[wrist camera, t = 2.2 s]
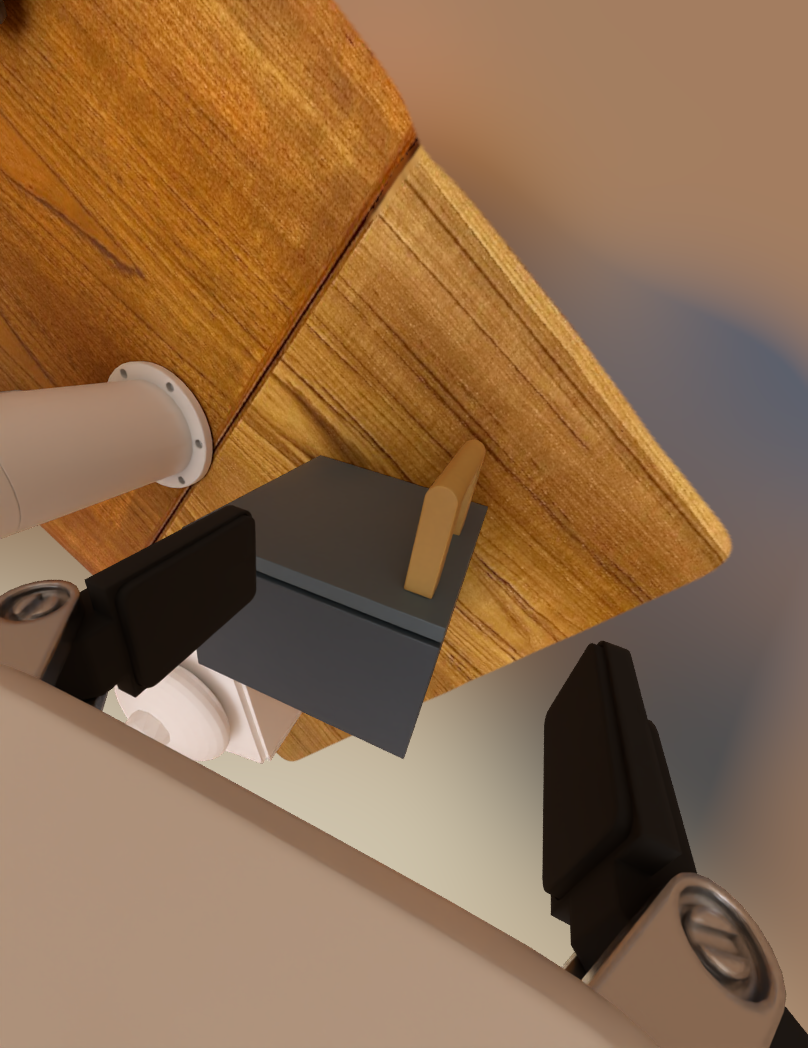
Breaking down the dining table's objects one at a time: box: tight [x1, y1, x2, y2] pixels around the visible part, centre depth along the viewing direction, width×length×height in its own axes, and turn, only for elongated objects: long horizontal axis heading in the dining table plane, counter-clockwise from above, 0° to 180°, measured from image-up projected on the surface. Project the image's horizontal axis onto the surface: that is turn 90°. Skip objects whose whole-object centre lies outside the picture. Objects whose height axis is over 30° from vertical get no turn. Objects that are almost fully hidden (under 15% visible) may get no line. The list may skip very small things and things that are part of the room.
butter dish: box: [114, 650, 302, 764], centre depth 44 cm, size 18×18×16 cm
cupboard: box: [196, 523, 483, 759], centre depth 29 cm, size 10×16×16 cm, turn 79°
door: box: [182, 440, 488, 643], centre depth 25 cm, size 7×16×15 cm, turn 79°
